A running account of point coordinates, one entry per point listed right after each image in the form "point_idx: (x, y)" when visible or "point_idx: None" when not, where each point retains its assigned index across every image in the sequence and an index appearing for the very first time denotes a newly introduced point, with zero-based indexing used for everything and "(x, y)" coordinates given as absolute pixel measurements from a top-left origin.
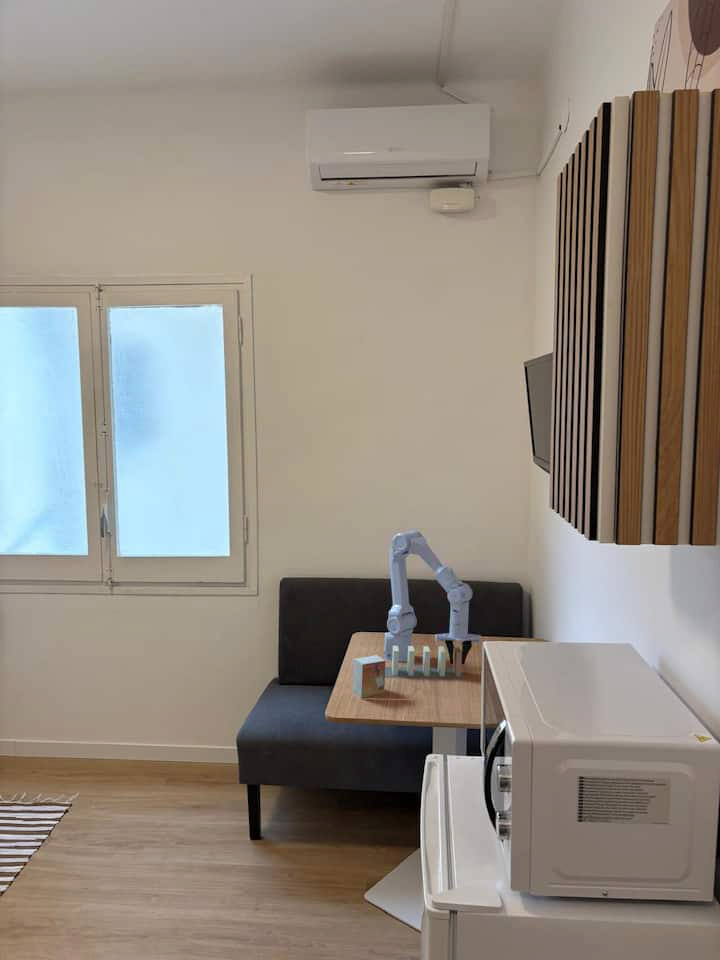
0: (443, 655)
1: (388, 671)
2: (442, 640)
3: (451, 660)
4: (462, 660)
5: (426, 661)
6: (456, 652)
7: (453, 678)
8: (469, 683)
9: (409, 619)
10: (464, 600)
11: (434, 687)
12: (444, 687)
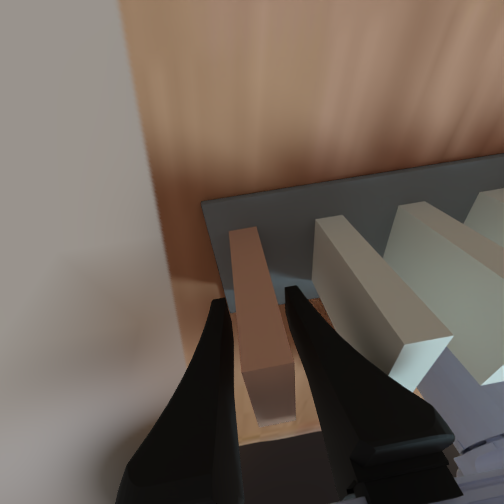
0: (403, 309)
1: None
2: (487, 486)
3: (305, 302)
4: (226, 321)
5: (492, 249)
6: (292, 363)
7: (271, 198)
8: (170, 157)
9: None
10: None
11: (431, 15)
12: (354, 31)
